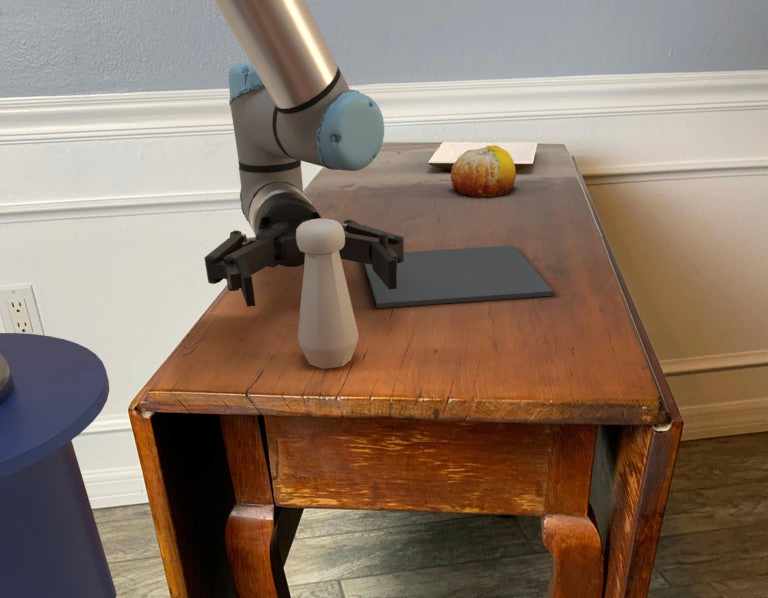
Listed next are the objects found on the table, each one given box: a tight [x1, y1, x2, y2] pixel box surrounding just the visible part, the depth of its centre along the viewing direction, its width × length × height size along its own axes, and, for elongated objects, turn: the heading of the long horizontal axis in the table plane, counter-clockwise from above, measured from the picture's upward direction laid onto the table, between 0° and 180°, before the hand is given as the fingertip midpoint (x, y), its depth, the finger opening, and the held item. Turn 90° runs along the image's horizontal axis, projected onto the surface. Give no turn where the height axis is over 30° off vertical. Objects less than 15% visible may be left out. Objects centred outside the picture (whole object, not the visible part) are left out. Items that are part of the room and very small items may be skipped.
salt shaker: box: [296, 218, 360, 370], centre depth 73 cm, size 6×6×13 cm
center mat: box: [363, 244, 554, 309], centre depth 96 cm, size 20×18×1 cm
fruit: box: [450, 146, 517, 198], centre depth 130 cm, size 11×10×8 cm
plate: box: [427, 141, 538, 171], centre depth 148 cm, size 19×19×2 cm
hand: (322, 283), depth 74 cm, fingers open, 13 cm apart
